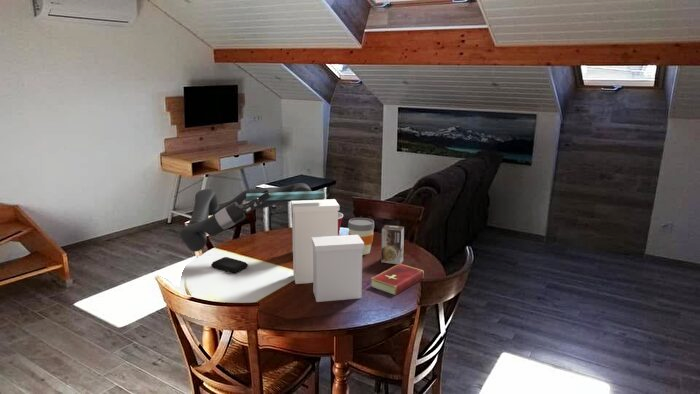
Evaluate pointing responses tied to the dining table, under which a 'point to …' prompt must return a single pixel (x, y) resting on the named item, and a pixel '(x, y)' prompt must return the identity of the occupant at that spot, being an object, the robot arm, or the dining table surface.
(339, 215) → the plastic cup
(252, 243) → the dining table surface
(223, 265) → the carrying case or bag
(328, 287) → the low stand
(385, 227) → the coffee box
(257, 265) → the dining table surface
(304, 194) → the slat
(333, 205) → the tall stand
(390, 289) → the hardcover book
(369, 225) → the reusable coffee cup
